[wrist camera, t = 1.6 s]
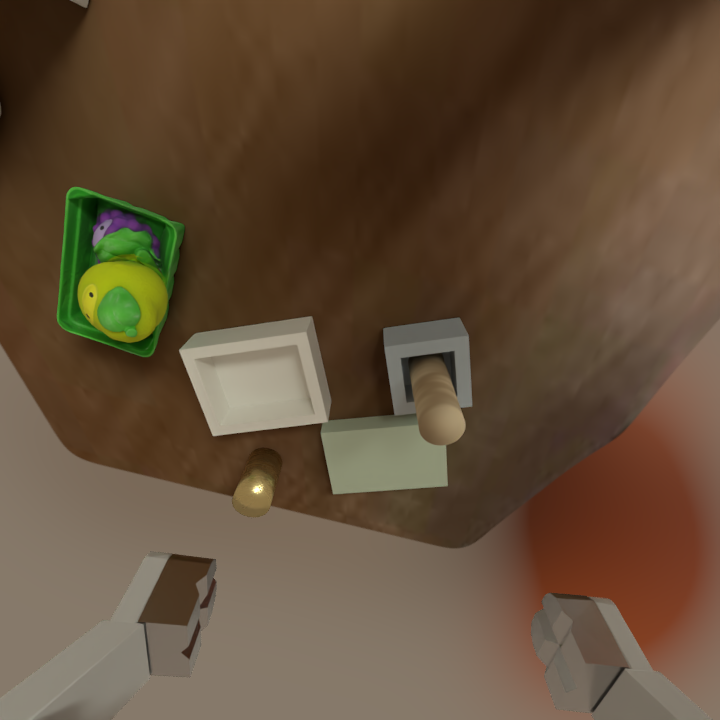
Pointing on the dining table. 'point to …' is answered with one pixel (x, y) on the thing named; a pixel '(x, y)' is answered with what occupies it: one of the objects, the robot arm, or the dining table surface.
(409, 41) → the dining table surface
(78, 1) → the milk carton
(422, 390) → the dowel
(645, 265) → the dining table surface
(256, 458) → the cylinder
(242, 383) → the tray
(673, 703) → the robot arm
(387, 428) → the plate board
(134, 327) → the fruit basket
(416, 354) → the socket block
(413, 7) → the dining table surface
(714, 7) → the dining table surface
